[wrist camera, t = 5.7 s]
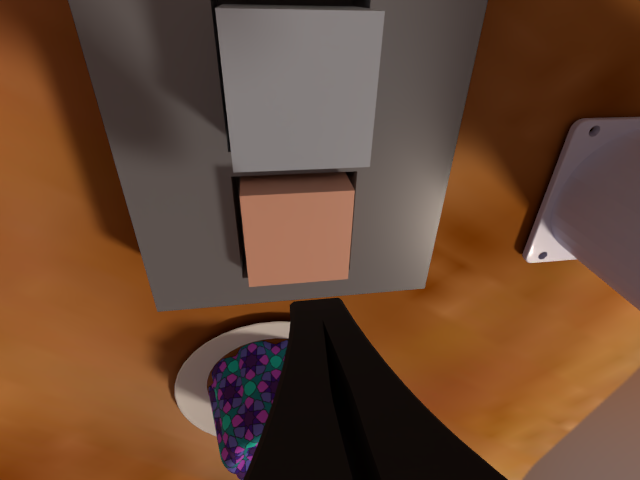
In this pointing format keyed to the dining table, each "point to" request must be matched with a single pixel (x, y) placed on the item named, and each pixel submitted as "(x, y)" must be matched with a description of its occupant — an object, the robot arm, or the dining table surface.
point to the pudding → (234, 389)
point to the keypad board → (224, 186)
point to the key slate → (299, 84)
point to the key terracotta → (296, 227)
